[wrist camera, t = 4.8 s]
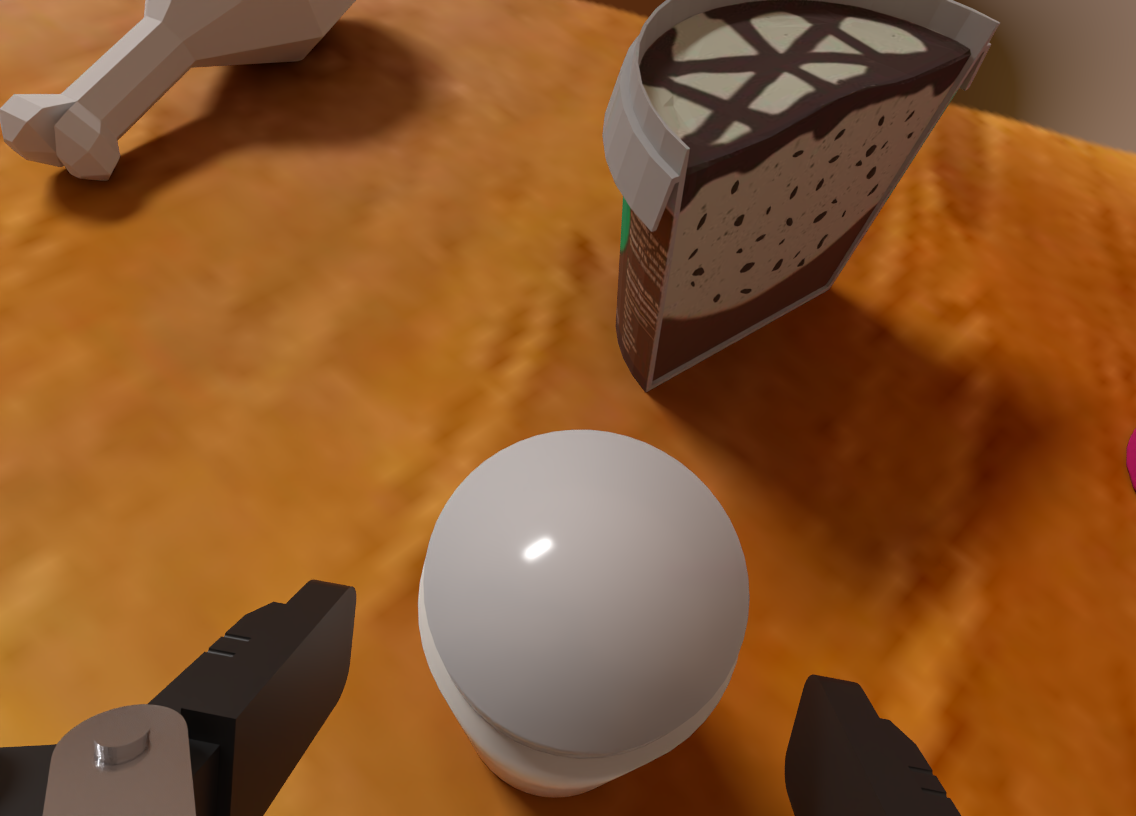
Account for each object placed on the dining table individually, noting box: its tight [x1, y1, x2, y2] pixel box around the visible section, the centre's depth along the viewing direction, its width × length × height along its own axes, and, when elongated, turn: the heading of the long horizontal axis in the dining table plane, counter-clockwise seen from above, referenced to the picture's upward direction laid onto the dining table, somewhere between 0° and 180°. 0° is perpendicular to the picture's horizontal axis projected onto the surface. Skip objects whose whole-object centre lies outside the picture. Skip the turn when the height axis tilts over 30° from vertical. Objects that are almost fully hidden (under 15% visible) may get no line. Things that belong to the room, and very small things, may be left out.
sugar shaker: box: [418, 430, 749, 798], centre depth 13 cm, size 5×5×10 cm
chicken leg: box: [0, 0, 356, 181], centre depth 28 cm, size 8×18×8 cm, turn 152°
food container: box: [603, 0, 1000, 392], centre depth 21 cm, size 12×6×10 cm, turn 124°
